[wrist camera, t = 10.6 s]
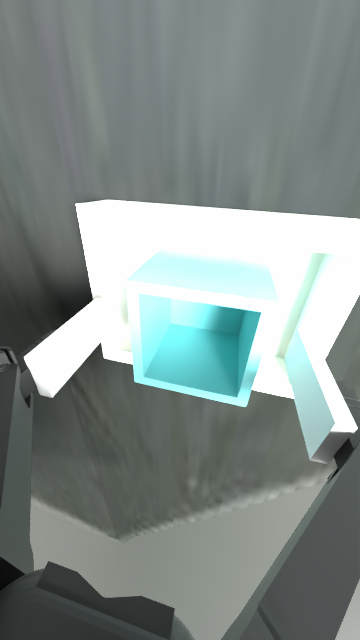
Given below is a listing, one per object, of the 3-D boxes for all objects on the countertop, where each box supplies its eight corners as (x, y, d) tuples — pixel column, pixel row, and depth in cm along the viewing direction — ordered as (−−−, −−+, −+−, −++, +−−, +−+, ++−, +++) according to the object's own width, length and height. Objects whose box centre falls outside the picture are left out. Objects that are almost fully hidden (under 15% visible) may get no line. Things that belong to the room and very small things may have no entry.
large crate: (123, 333, 26) (103, 358, 23) (108, 199, 19) (75, 204, 15) (293, 365, 23) (302, 400, 19) (357, 218, 16) (393, 230, 12)
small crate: (165, 324, 23) (134, 381, 16) (167, 245, 19) (125, 279, 12) (244, 338, 22) (245, 407, 15) (265, 255, 17) (280, 301, 11)
